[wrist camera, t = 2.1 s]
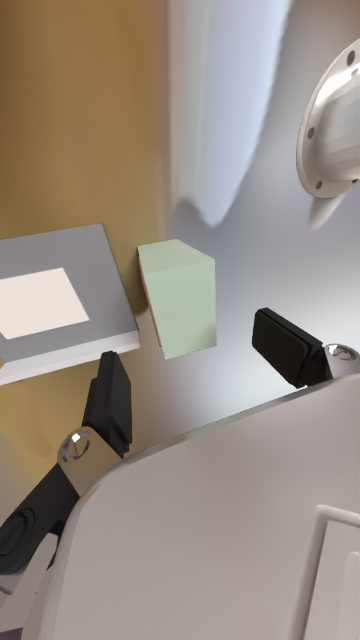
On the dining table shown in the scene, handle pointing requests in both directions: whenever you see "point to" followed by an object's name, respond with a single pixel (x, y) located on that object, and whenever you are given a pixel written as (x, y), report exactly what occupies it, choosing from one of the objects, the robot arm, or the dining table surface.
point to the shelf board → (61, 302)
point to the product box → (179, 296)
